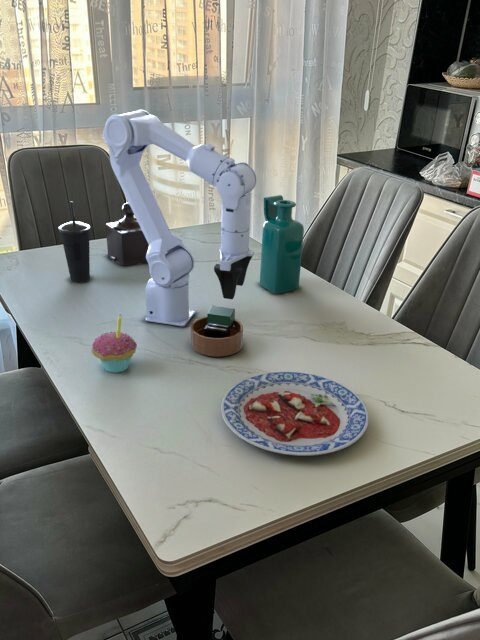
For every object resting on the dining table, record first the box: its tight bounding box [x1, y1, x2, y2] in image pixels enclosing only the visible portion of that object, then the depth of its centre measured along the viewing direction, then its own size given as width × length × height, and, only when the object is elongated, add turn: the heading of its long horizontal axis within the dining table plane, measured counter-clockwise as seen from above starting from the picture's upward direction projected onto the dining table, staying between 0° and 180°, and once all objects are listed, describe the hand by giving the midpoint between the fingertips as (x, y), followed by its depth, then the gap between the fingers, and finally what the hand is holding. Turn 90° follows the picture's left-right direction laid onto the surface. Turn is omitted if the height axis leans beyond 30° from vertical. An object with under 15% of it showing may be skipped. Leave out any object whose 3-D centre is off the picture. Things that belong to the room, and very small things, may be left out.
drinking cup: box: [58, 200, 91, 284], centre depth 152 cm, size 8×8×20 cm
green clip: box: [206, 305, 236, 327], centre depth 128 cm, size 5×2×4 cm
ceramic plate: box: [220, 371, 370, 457], centre depth 106 cm, size 26×26×3 cm
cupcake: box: [91, 313, 137, 373], centre depth 117 cm, size 9×8×12 cm
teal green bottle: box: [259, 194, 305, 294], centre depth 152 cm, size 10×8×22 cm
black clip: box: [204, 323, 230, 338], centre depth 127 cm, size 5×2×4 cm, turn 75°
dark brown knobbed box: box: [105, 199, 149, 267], centre depth 165 cm, size 16×11×18 cm
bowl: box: [190, 316, 244, 358], centre depth 128 cm, size 11×11×4 cm
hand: (233, 291), depth 129 cm, fingers open, 7 cm apart
